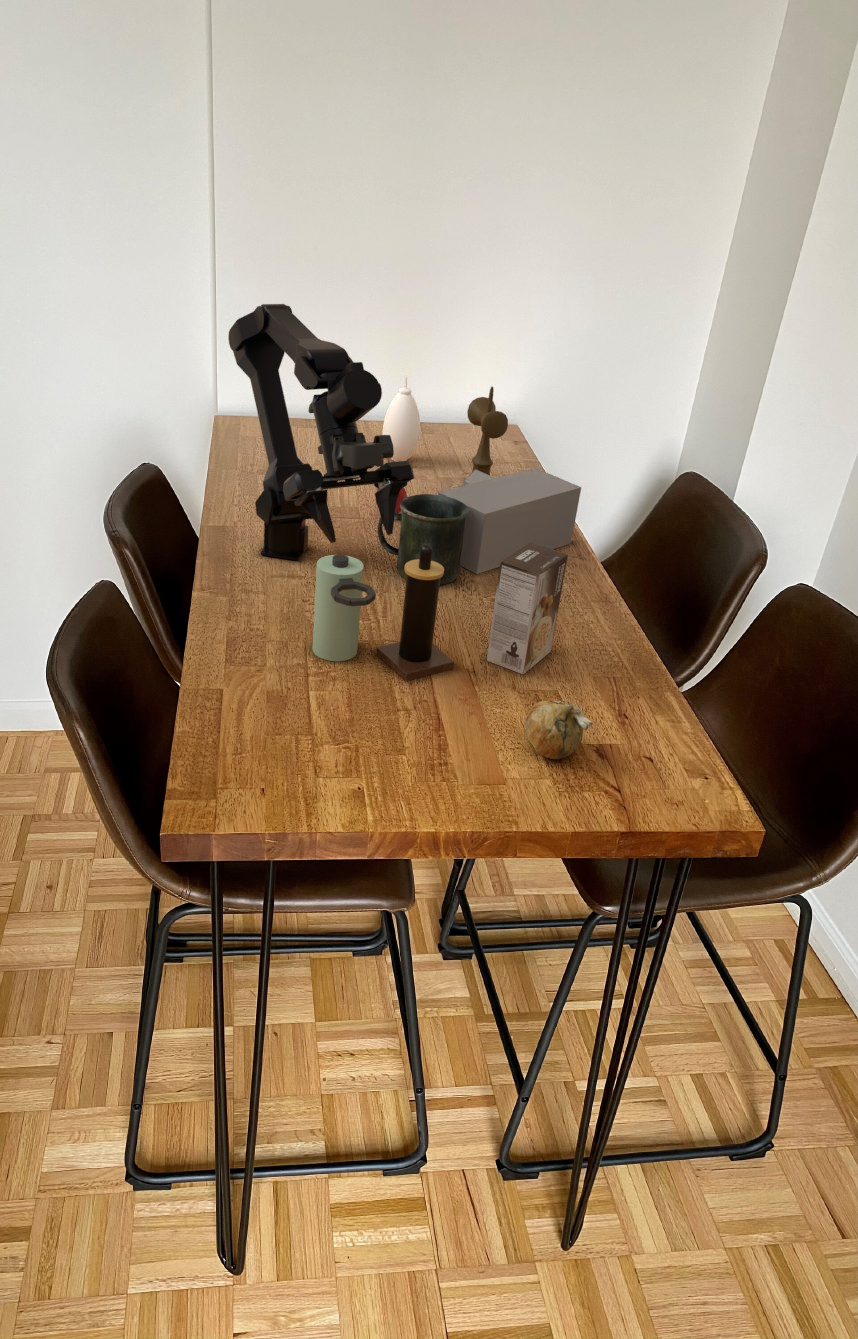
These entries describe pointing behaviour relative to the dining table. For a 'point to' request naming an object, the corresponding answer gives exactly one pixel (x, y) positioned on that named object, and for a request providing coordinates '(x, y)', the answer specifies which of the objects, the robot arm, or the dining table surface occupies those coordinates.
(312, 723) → the dining table surface
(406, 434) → the sauce bottle
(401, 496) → the onion
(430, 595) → the black cylinder with base
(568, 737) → the onion
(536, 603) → the coffee box
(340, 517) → the dining table surface
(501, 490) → the plain grey rectangular block
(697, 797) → the dining table surface
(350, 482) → the robot arm
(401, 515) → the mug
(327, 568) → the mint green lidded canister
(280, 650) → the dining table surface
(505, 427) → the kendama
